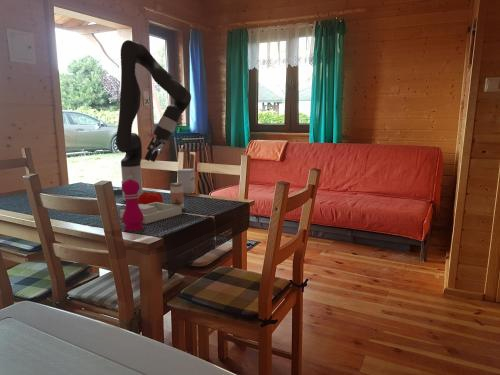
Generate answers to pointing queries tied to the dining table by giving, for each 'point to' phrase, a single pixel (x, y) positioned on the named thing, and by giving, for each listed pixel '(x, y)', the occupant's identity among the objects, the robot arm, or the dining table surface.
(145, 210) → the off-white tapered piece
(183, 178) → the supplement box
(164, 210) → the tote
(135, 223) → the pepper mill
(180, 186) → the clear lidded jar
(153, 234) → the dining table surface
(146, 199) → the tomato
